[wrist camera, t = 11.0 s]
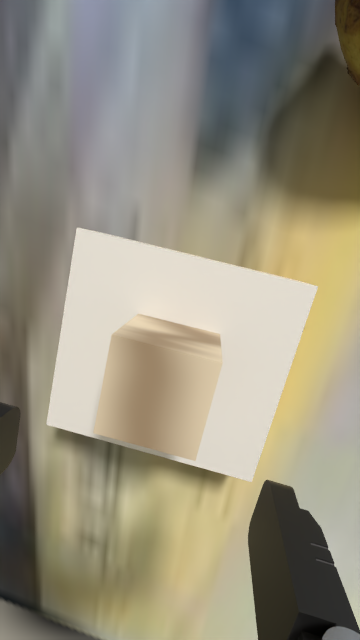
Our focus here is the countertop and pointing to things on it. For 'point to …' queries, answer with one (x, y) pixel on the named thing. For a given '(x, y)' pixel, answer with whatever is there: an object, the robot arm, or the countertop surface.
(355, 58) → the potato
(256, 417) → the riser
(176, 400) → the birch block
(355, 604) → the countertop surface
